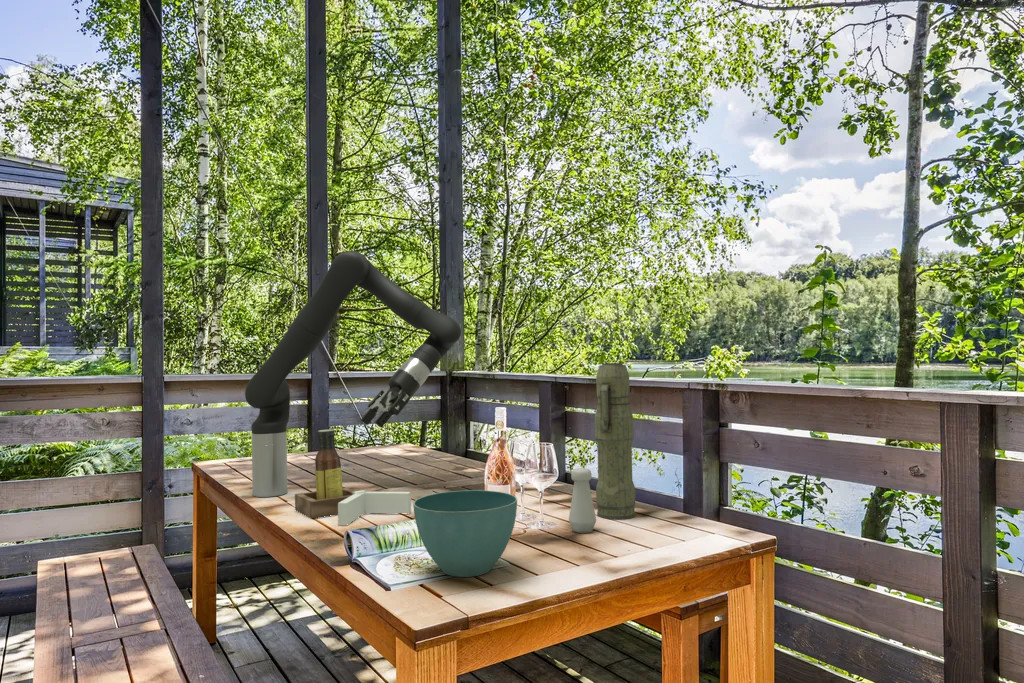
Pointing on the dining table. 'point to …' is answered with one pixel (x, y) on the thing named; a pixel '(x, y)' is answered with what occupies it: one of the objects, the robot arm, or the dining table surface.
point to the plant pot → (465, 529)
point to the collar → (319, 504)
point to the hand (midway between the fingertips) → (370, 424)
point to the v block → (372, 504)
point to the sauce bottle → (327, 467)
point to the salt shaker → (582, 502)
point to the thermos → (614, 443)
